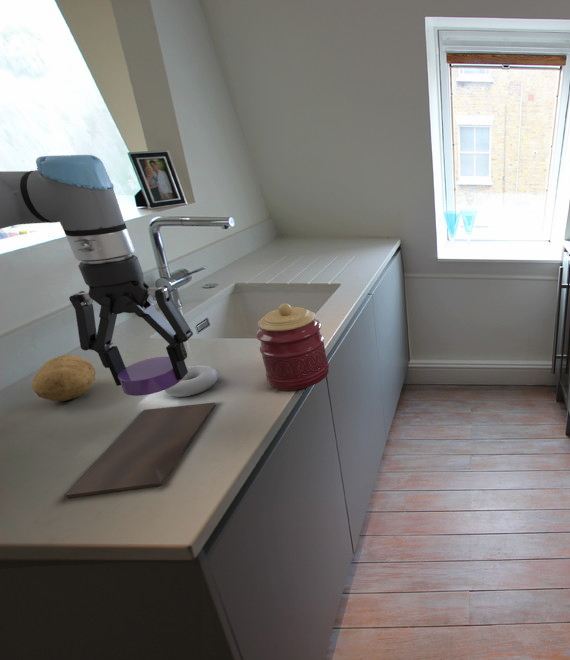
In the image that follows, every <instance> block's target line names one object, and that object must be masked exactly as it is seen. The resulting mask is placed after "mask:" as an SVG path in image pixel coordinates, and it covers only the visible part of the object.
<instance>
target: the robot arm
mask: <svg viewBox="0 0 570 660" xmlns="http://www.w3.org/2000/svg"><path fill="white" fill-rule="evenodd" d="M35 164H36V169H35V170H27V171H25V170H24V171H21V170H20V171H19V170H18V171H17V170H12V171H9V170H8V171H7V170H6V171H5V170H4V171H3V170H2V171H0V230H2V229H6V228H9V227H14V226H19V225H32V224H47V223H48V224H53V223H54V224H55V223H60V226H61V227H62V230H63V232H64V235H65V236H66V240H67V241H68V244H69V247H70V249H71V251H72V254H73V256H74V258H75V260H77V261H80V262H79V264H78V269H79V271H80V274H81V276H82V279H83V281H84V283H85V285H86V286H88V291H84V290H80V291H78V292H76V293H74V294H72V295H70V296H69V298H68V299H69V302H70V303H71V305H72V307H73V309H74V311H75V319H76V324H77V326H76V327H77V332H78V340H79V346H80V349H81V350H83V351H88V350H90V351H94V352H95V353H97V355H98V357H99V359H100V361H101V364H102V366H103V368H105V369H109V371H110V374H111V376H112V378H113V380H114V383H115V385H116V387H119V386H121V384H120V381H119V379H118V374H119V372H120V371H121V370H123V369H124V368H126V367H127V366H126V365H125V362H124V360H123V357H122V355H121V351H120V350H119V348H118V345H114V343H113V342H112V340H113V336H114V331H115V326H116V323H117V322H116V321H117V318H118V315H120V314H124V313H127V314H135V315H136V316H137V317H139V318H142V319H143V320H144V321H145V322H146V323H147V324H148V325H149V326H150V327H151V328H152V329H153V330H154V331H155V332H157V334H159V336H160V337H161V338H163V339H164V340H165V341H166V342H167V343H168V345H167V346H166V347H165V349H166V352H167V353H166V354H167V355H168V357H169V358H170V361H171V364H172V367H173V369H174V372H175V375H176V378H177V380H181V379H183V377H184V376H185V375H186V374H187V373H188V370H187V367H188V366H187V364H186V359H187V358H188V352H187V349H186V346H185V343H186V342H187V341H189V340H190V338H191V337H192V336H194V332H193V331H192V329H191V327H190V325H189V324H188V322H187V321H186V319H185V317H184V315H183V314H182V313H181V311H180V310H179V308H178V307H177V304H176V303H175V301H174V300H173V298H172V293H171V288H170V287H169V286H168V285H162V286H161V287H151V286H149V284H147V282H146V280H145V277H144V272H143V269H142V267H141V264H140V261H139V258H138V256H136V255H135V254H134V253H135V252H136V249H135V246H134V243H133V241H132V238H131V235H130V233H129V230H128V227H127V225H126V222H125V220H124V217H123V215H122V211H121V208H120V204H119V202H118V199H117V196H116V193H115V190H114V188H115V187H114V184H113V183H112V181H111V179H110V176H109V174H108V172H107V169H106V167H105V165H104V163H103V161H102V159H100V158H99V157H97V156H95V155H93V154H69V155H68V154H67V155H66V154H65V155H64V154H61V155H44V156H43V155H42V156H38V157H36V159H35ZM150 296H151V297H152V300H153V301H156V304H157V306H158V308H159V309H160V311H161V312H162V314H161V313H160V312H159V311H158V310H157V309H156V306H155V305H154V304H153V302H151V301H150V300H149V299H148V298H149V297H150ZM94 302H95V303H97V304H98V305H99V306H100V310H99V314H98V317H99V323H98V327H97V325H96V319H95V318H96V317H95V309H94V304H93V303H94ZM112 345H113V346H112Z"/></svg>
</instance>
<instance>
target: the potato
mask: <svg viewBox="0 0 570 660" xmlns="http://www.w3.org/2000/svg"><path fill="white" fill-rule="evenodd" d="M96 372H97V371H96V369H95V367H94V365H93V363H92V362H90V361H88V360H87V359H84V358H83V357H81V356H78V355H75V354H63V355H59V356H55V357H53V358H51V359H49V360H48V361H46V362H45V363H44V364H43V365H42V366H41V367H40V369H38V371H37V373H36V374H35V376H34V377H33V380H32V382H31V390H32V392H34V393H35V394H36V395H37V397H38V398H42V399H45V400H48V401H51V402H64V401H65V402H66V401H70V400H73V399H76V398H79V397H81V396H82V395H84V394H85V393H86V392H87V391H88V390H90V388H91V387H92V386H93V385H94V384H95V380H96Z"/></svg>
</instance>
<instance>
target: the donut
mask: <svg viewBox="0 0 570 660" xmlns="http://www.w3.org/2000/svg"><path fill="white" fill-rule="evenodd" d="M186 367H187V370H188V373H187V374H186V375H185V376H184V377H183V379H182V380H181V381H180V382H178V383H177V384H176V385H174V386H172V387H170V388H168V389H165V390H163V391H164V392H165V393H166V394H167V395H168V396H171V397H177V398H181V397H189V396H194V395H198V394H200V393H203V392H205V391H207V390H209V389H210V388H211V387H213V386H214V385H215V383H216V382H217V380H218V372H217V371H216V370H215V369H214V367H212V366H208V365H203V364H202V365H191V366H186Z"/></svg>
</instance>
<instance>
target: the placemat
mask: <svg viewBox="0 0 570 660" xmlns="http://www.w3.org/2000/svg"><path fill="white" fill-rule="evenodd" d="M216 405H217V403H216V402H207V403H197V404H189V405H178V406H177V405H176V406H169V407H159V408H149V409H143V410H142V411H141V412H140V414H138V415H137V416H136V418H135V419H134V420H133V421H132V422H131V423H130V424H129V425H128V427H127V428H126V429H124V431H123V432H122V433H121V434H120V435H119V436H118V437H117V439H115V440H114V442H112V444H111V445H110V446H109V447H108V448H107V450H105V452H104V453H103V454H102V455H101V456H100V457H99V458H98V459H97V460H96V461H95V462H94V463H93V465H91V466H90V468H89V469H88V470H87V471H86V472H85V473H84V474H83V475H82V476H81V478H80V479H78V481H77V482H76V483H75V484H74V485H73V487H71V489H70V490H69V491H67V493H66V494H65V497H66V498H67V499H70V498H77V497H84V496H93V495H100V494H107V493H115V492H116V493H117V492H122V491H130V490H137V489H146V488H154V487H161V486H163V484H164V483H165V482H166V480H167V479H168V477H169V476H170V475H171V472H172V471H173V469H174V468H175V467H176V465H177V464H178V462H179V460H180V459H181V457H183V455H184V453H185V452H186V451H187V449H188V447H189V446H190V444H191V443H192V441H193V440H194V438H195V437H196V435H197V434H198V432H199V431H200V429H201V428H202V426H203V425H204V424H205V422H206V420H207V419H208V418H209V416H210V414H211V413H212V412H213V410H214V409H215V407H216Z"/></svg>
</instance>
